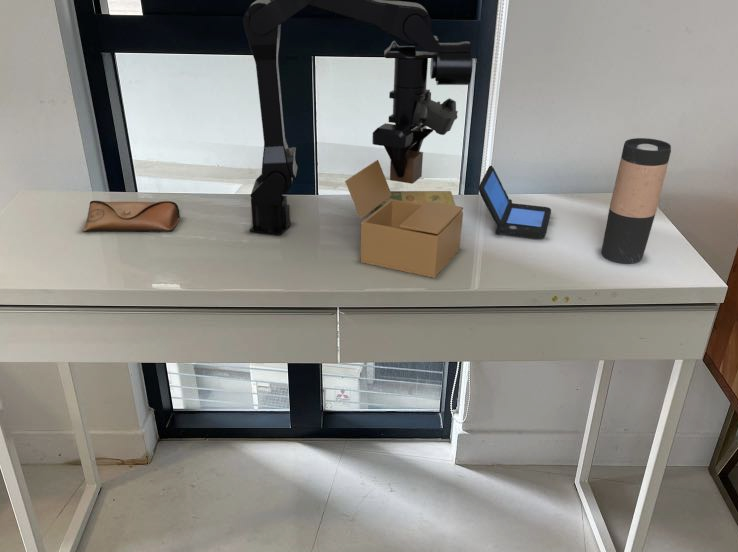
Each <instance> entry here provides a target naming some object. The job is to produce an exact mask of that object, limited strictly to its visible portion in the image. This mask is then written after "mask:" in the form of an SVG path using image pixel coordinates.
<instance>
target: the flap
mask: <svg viewBox="0 0 738 552" xmlns="http://www.w3.org/2000/svg"><path fill="white" fill-rule="evenodd" d="M344 182H345V185H346V187H347V189H348V192H349V195H350V197H351V200H352V201H353V205H354V207H355V209H356V211H357V214H358V216H359V219H360V220H361V219H363V218H365V217H366V216H367V215H369V214H370V213H371V212H372V211H373V209H375V208H376V207H377V206H379V205H380V204H381V203H382V202H384V201H385V200H386V199H388V198H389V197H390V196H391V195H392V194H391V192H390V191H391V189H390V187H389V184H388V181H387V179H386V176H385V174H384V171H383V168H382V166H381V164H380V161H379V159H377V160H375V161H373V162H371V163H370V164H369V165H367V166H365V167H364V168H362V169H361V170H359V171H358V172H357V173H355V174H354V175H352V176H350V177H349V178H348V179H345V180H344Z"/></svg>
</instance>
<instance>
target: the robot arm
mask: <svg viewBox="0 0 738 552" xmlns="http://www.w3.org/2000/svg"><path fill="white" fill-rule="evenodd" d="M306 7H312V8H315V9H318V10H321V11H325V12H328V13H331V14H335V15H338V16H341V17H345V18H348V19H351V20H355V21H358V22H361V23H365V24H368V25H371V26H373V27H375V28H377V29H380V30H381V31H383V32H384V33H386V34H388V35H389V36H391V37H393V38H395V39H397V40H398V41H401V42H402V43H404V44H406V45H398V43H397V41H396V40H393V41H392V42H391V44H390V45H389V46H388V47H387V48H386V49H384V51H383V54H384V55H383V56H384V58H385V59H394V66H393V67H394V68H393V69H394V71H393V89H392V90H391V91H389V95H388V97H389V99H391V100H392V114H390V115H389V116H388V123H385V122H384V123H383V124H382V125H380V126H378V127H376V129H375V130H374V131H373V132H372V140H371V141H372V145H375V146H379V147H384V149H385V151H386V153H387V155H388V157H389V159H390V163H391V162H392V164H393V166H394V169H395V171H396V173H397V176H398V177H404V174H405V169H406V164H407V158H408V153H409V150H411V151H418V152H421V151H420V150H421V148H422V145H423V143H424V140H425V139H426V138H427V137H428V136H430V135H431V134H432V133H433V132H434V131H435V133H436V134H437V135H440V136H444V135H446V134H447V133H448V132H450V131H451V129H452V127H453V125H454V122H455V121H456V120H457V119H458V112H459V111H458V110H457V101H455V100H454V99H452V98H447V99H445V100H444V101H443V102H442V103H441V101H439V100H438V101H435V100H433V99H432V92H431V89H427V83H428V81H427V80H428V67H429V66H430V68H429V69H430V70H429V72H430V73H429V75H430V79H432V80H434V81H435V83H436V86H469V85H470V84H471V80H472V76H473V75H472V74H473V64H472V44H471V42H470V41H460V42H439V41H440V40H439V38H438V36H437V35H435V34H434V33H433V32H432V18H431V17H430V14H429V13H428V11H427V10H426V8H425V7H424V6H423V5H422V4H420V3H418V2H413V1H412V2H411V1H403V0H255V1H254V2H252V3H251V4H250V6H249V7H248V8H247V9H246V10H245V12H244V15H243V21H242V22H243V27H244V31H245V35H246V38H247V42H248V46H249V49H250V52H251V53H252V56H253V59H254V63H255V70H256V79H257V89H258V99H259V107H260V117H261V128H262V135H263V145H264V146H263V153H262V160H261V161H262V162H261V174H260V175H259V176H258V177H257V178H256V179H255V181H254V183H253V186H252V189H251V193H250V206H251V223H252V226H251V227H250V228H249V232H250V233H253V234H254V233H255V234H256V233H257V234H265V235H274V236H282V235H283V234H284V232H285V231H286V230H287V229H288V228H289V226H290V225H291V223H292V222H291V210H290V208H291V207H290V204H288V198H287V197H288V196H287V195H285V194H286V193H288V192H289V190H290V189H291V188H292V185H293V180H295V179H296V178H297V172H298V164H297V162H296V149H297V147H296V146H292V147H289V145H288V143H287V139H286V134H285V124H284V123H285V122H284V112H283V102H282V101H283V100H282V89H281V80H280V79H281V78H280V67H279V50H280V40H281V29H282V28H281V27H282V24H283V23H285V22H286V21H287V20H289V19H290V18H292V17H293V16H295V15H296V14H298V12H300V11H302V10H303V9H305V8H306ZM417 45H418V47H421V48H422V49H423V50H425V51H418V50H416V46H417ZM429 59H430V65H429ZM428 65H429V66H428Z"/></svg>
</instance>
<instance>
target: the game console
mask: <svg viewBox="0 0 738 552" xmlns="http://www.w3.org/2000/svg"><path fill="white" fill-rule="evenodd" d="M478 192H479V195H480V197H481V199H482V200H483V203H484V205H485V206H486V208H487V210H488V212H489V214H490V216H491V218H492V220H493V222H494V224H495V225H496V229H495V234H496V235H503V236H510V237H518V238H527V239H535V240H542V239H544V238H545V237H546V235H547V231H548V227H549V224H550V218H551V214H552V209H551V207H548V206H541V205H533V204H532V205H531V204H523V203H514V202H513V200H512V199H511V198H509V196H508V194H507V192H506V190H505V188H504V186H503V183H502V181H501V179H500V178H499V176H498V174H497V172H496V169H495V168H494V167H493V166H492V165H489V166H488V168H487V169H486V172H485V174H484V175H483V177H482V179H481V180H480V183H479V185H478Z"/></svg>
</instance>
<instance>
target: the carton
mask: <svg viewBox="0 0 738 552" xmlns="http://www.w3.org/2000/svg"><path fill="white" fill-rule="evenodd" d="M390 192H391V194H392V195H391V196H390V197H389V198H388V199H386V200H385V201H384V202H382V203H381V204H380V205H379V206H377V207H376V208H375V209H373V210H372V211H373V212H372V214H373V213H374V212H375V211H377V210H378V209H379V208H381V207H382V206H383V205H384V204H386V203H387V202H388V201H389V200H391V199H394V200H400V201H406V202H411V203H417V204H424V203H425V202H427V201H430V202H436V203H442V204H448V205H454V206H456V203H455V199H454V196H453V192H452V191H450V190H390Z"/></svg>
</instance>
